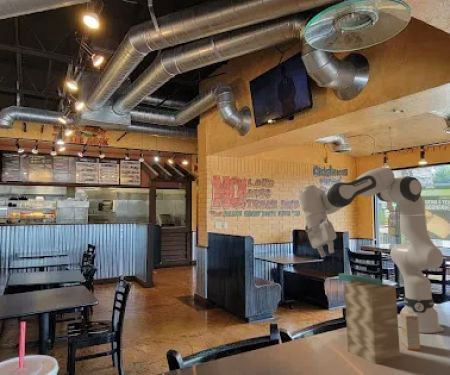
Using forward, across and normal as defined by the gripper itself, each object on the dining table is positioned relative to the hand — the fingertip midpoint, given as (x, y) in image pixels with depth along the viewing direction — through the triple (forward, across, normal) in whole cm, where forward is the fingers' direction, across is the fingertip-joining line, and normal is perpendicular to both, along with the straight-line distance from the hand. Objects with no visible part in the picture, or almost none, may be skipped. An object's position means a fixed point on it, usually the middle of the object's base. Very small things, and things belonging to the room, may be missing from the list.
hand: (327, 255), depth 147 cm
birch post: (+40, +2, -6) cm, 40 cm away
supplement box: (+42, +7, -25) cm, 49 cm away
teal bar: (+13, 0, -9) cm, 16 cm away
